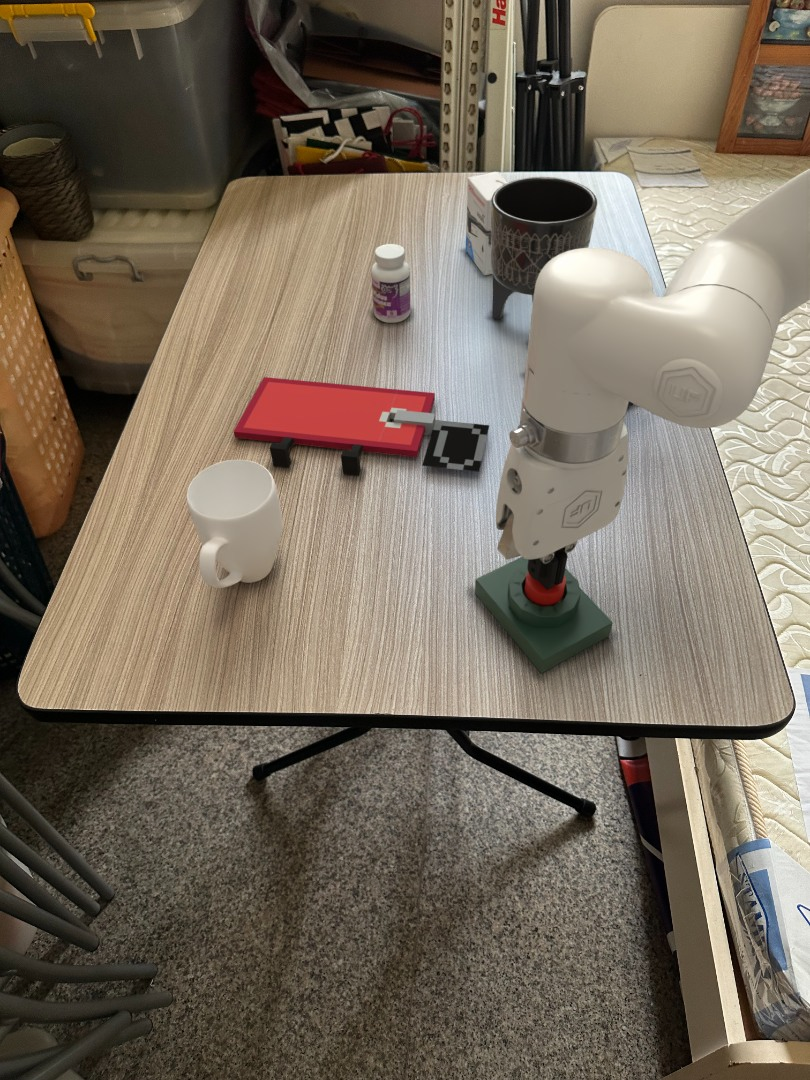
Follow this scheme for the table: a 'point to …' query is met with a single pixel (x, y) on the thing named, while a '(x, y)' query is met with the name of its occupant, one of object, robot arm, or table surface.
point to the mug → (235, 521)
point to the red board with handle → (357, 424)
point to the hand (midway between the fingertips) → (544, 576)
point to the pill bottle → (391, 284)
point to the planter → (535, 231)
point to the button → (543, 592)
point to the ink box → (481, 218)
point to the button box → (542, 616)
